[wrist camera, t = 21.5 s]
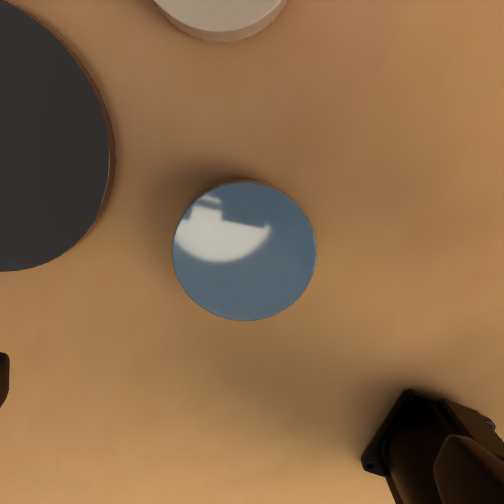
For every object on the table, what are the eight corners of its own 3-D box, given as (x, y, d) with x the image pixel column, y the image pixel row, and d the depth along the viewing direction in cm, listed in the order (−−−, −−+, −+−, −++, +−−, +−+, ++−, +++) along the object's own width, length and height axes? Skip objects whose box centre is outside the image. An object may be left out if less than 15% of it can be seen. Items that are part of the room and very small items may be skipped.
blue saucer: (278, 320, 21) (281, 340, 19) (162, 277, 20) (152, 292, 18) (332, 209, 19) (342, 217, 17) (206, 156, 18) (201, 157, 16)
